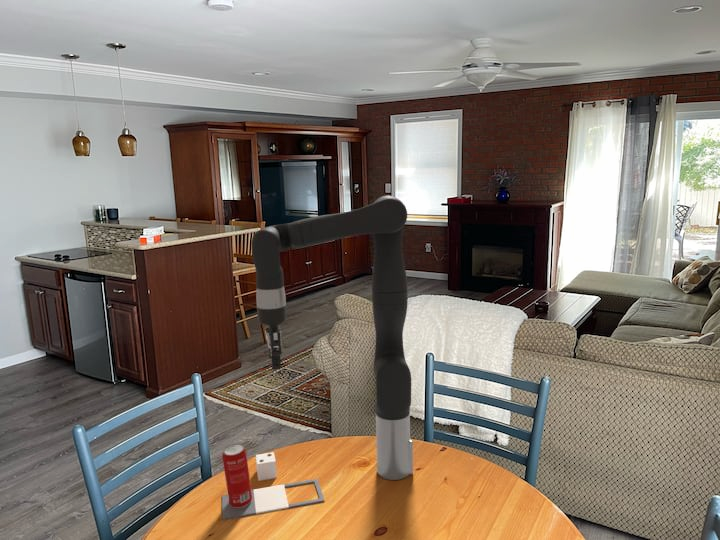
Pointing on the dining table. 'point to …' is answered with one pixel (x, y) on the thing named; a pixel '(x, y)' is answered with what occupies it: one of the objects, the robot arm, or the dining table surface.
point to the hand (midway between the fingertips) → (274, 363)
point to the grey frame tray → (267, 500)
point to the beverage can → (237, 475)
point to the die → (266, 466)
